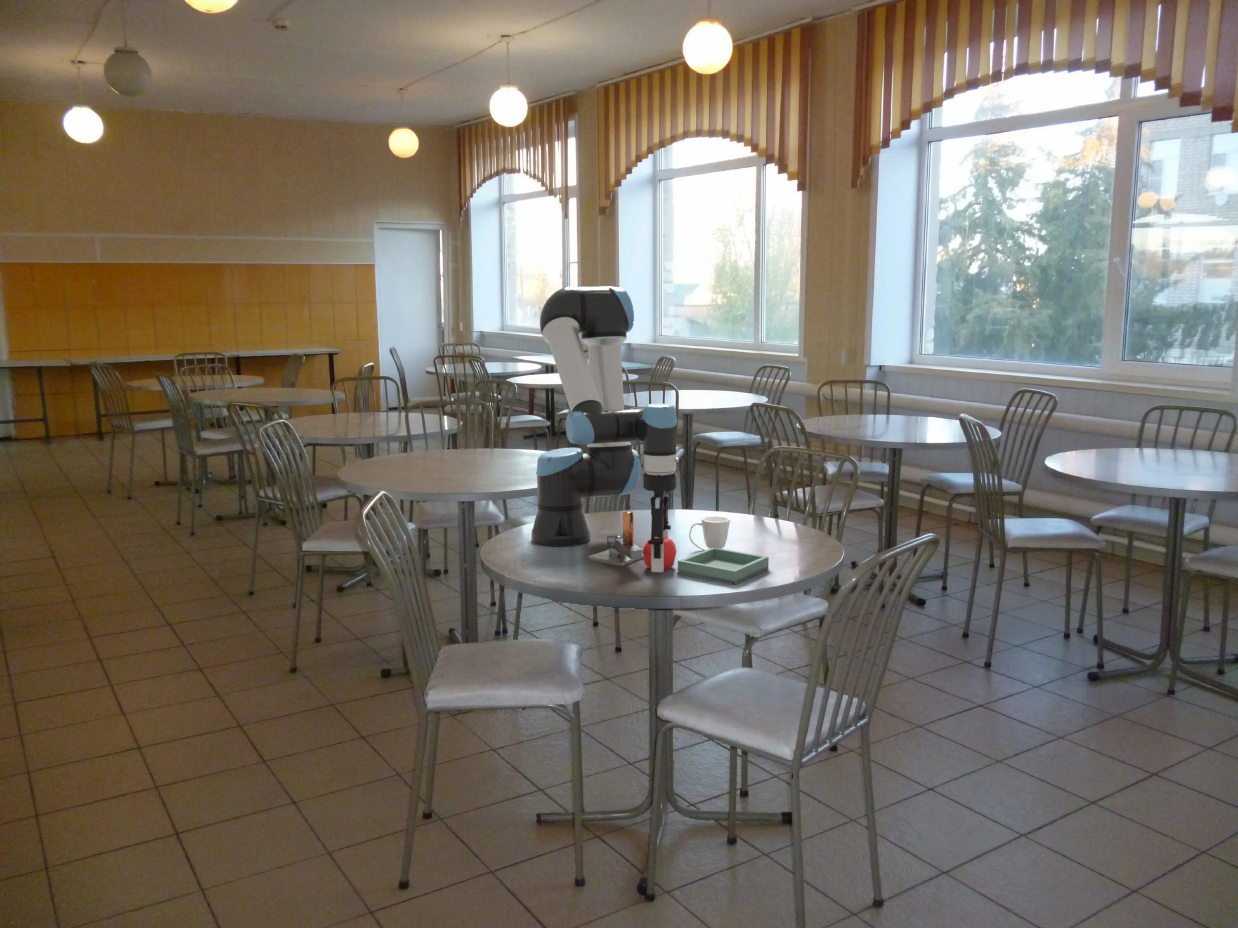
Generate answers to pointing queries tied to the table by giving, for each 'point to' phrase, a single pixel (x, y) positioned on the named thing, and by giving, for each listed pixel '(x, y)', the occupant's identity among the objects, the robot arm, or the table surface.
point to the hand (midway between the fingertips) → (659, 564)
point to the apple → (668, 553)
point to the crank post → (612, 557)
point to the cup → (713, 531)
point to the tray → (723, 565)
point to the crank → (626, 538)
